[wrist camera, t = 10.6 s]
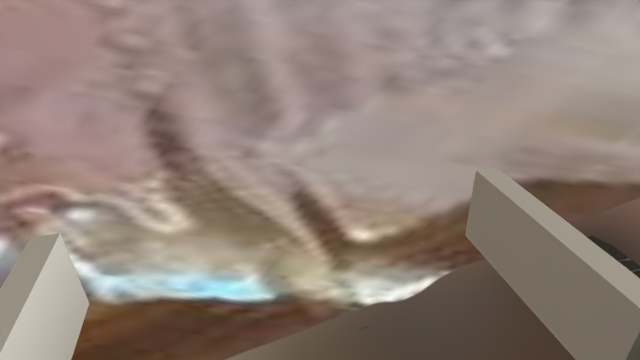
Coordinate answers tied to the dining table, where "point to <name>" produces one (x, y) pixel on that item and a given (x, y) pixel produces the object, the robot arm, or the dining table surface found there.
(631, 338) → the robot arm
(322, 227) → the dining table surface
